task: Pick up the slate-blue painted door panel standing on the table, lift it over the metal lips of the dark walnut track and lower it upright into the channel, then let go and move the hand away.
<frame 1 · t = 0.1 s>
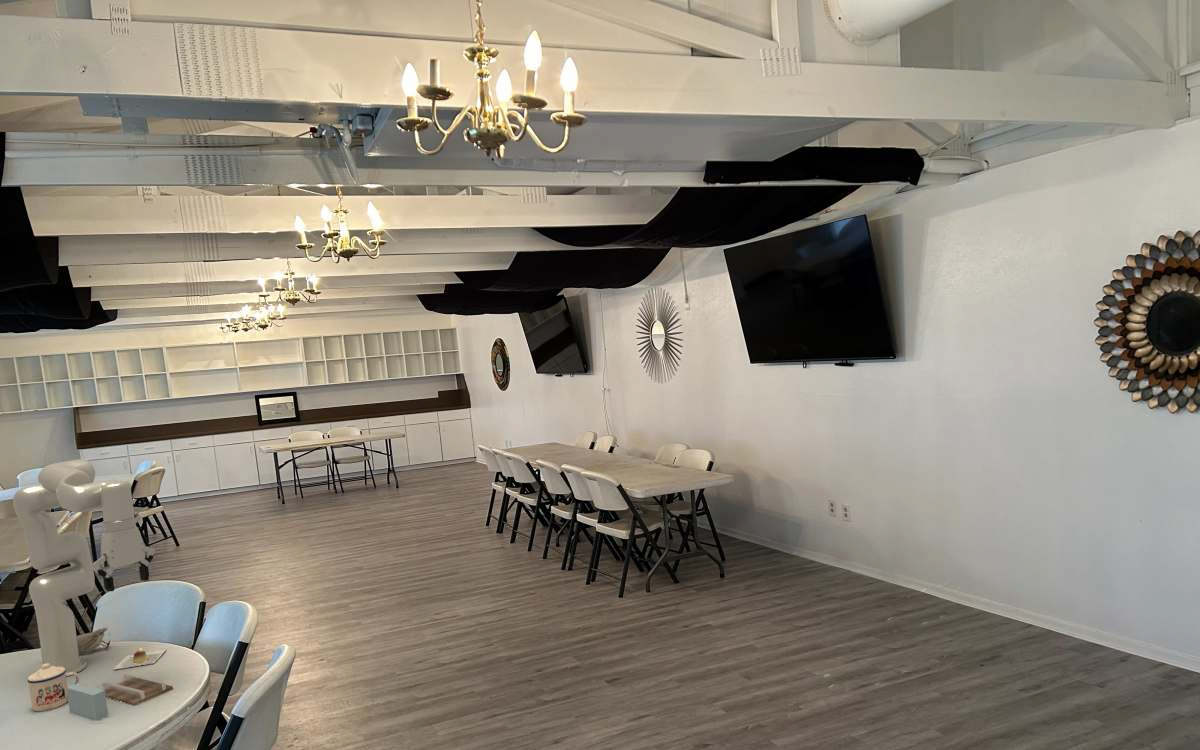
hand: (127, 585, 234), 31 cm above the table, tool pointing down, fingers open, 9 cm apart
teacup with lid: (57, 703, 235), on the table
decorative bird: (83, 654, 276), on the table
bottom track: (134, 692, 237), on the table
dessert: (140, 663, 263), on the table
door panel: (88, 714, 224), on the table
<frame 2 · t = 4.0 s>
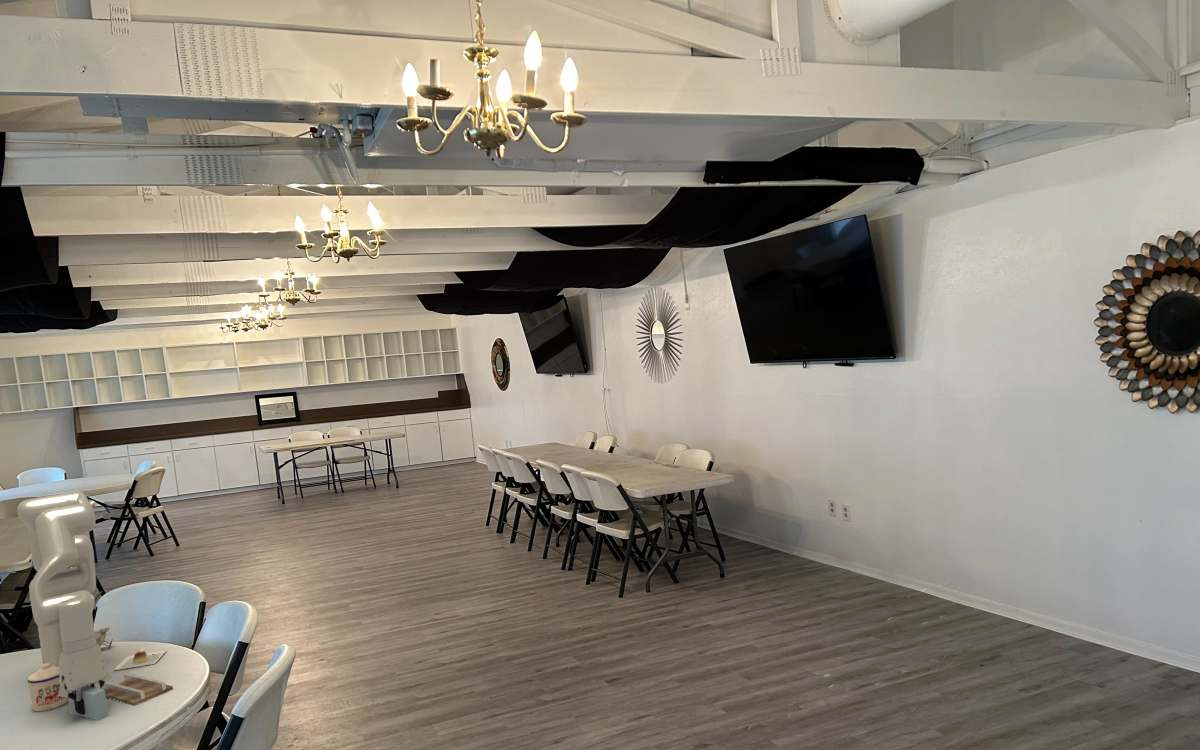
hand: (88, 710, 224), 1 cm above the table, tool pointing down, fingers closed on door panel, 3 cm apart
door panel: (88, 713, 224), on the table, touching gripper
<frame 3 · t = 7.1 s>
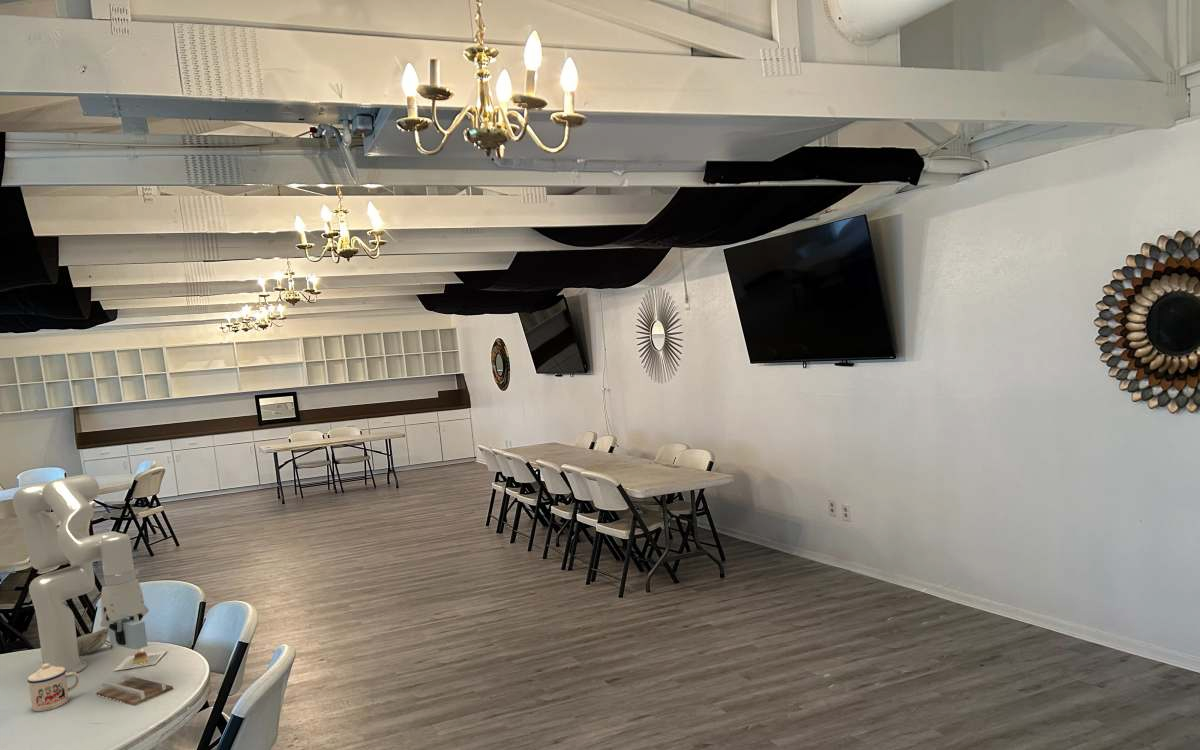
hand: (128, 641, 236), 15 cm above the table, tool pointing down, fingers closed on door panel, 3 cm apart
door panel: (128, 645, 236), point 14 cm above the table, touching gripper
when the fingers open (3 cm above the table, at t = 9.3 s): door panel drops 1 cm, resting on bottom track.
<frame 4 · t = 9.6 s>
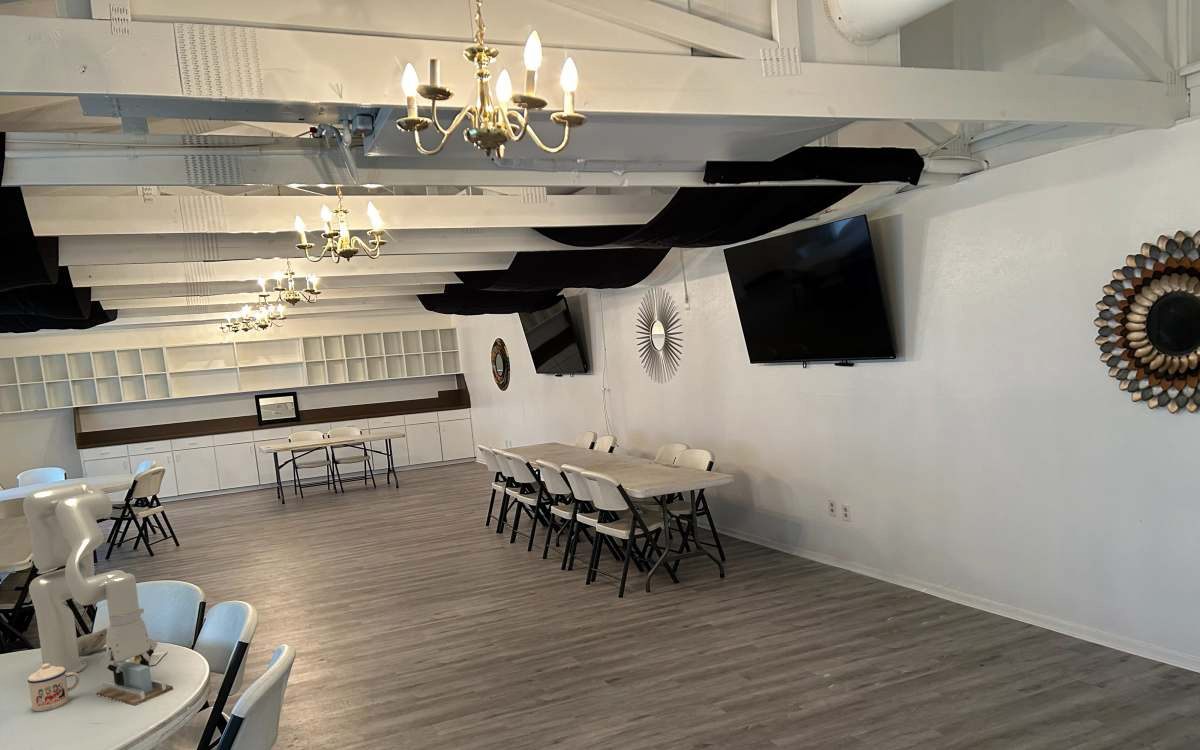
hand: (132, 679, 237), 4 cm above the table, tool pointing down, fingers open, 6 cm apart
door panel: (133, 689, 237), point 1 cm above the table, touching bottom track
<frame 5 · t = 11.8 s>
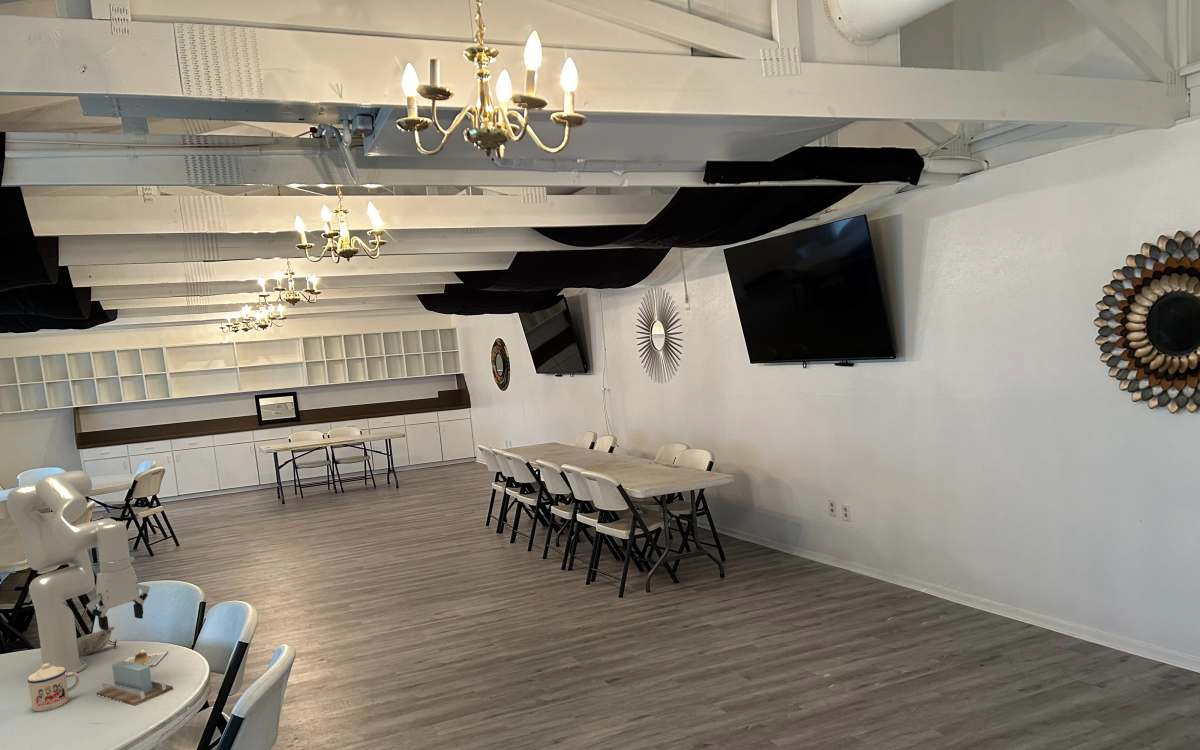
hand: (122, 623, 239), 19 cm above the table, tool pointing down, fingers open, 9 cm apart
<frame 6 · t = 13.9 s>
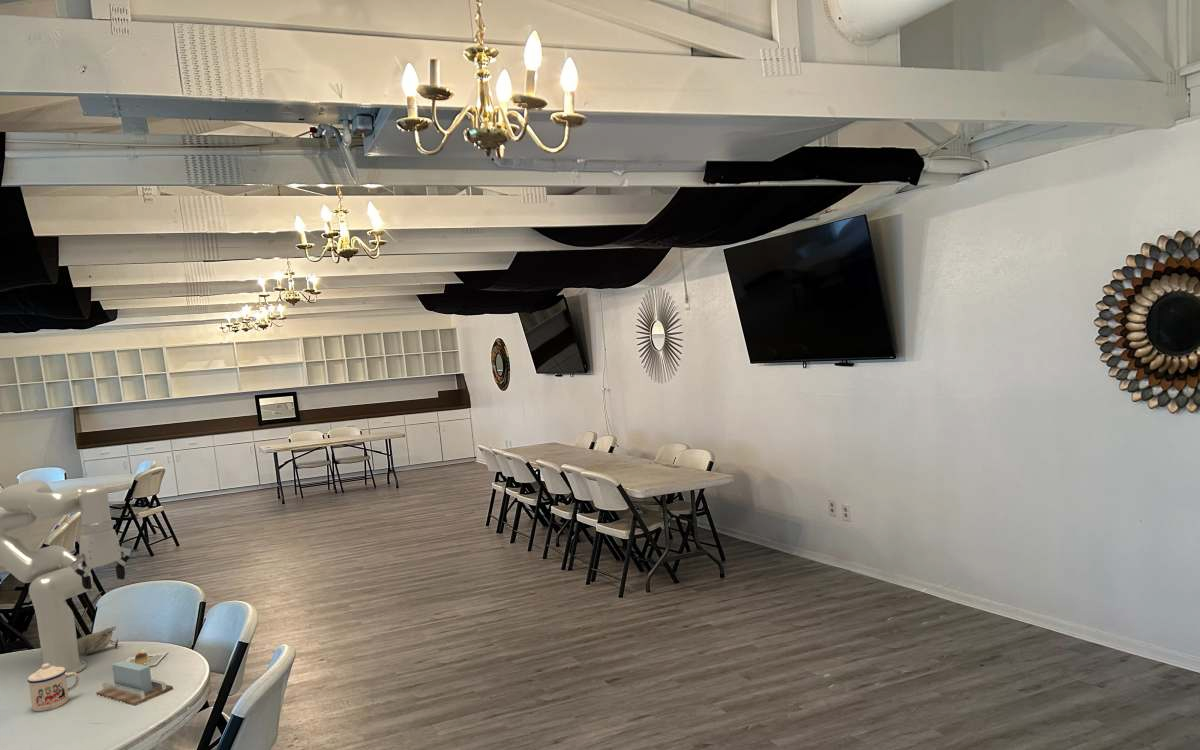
hand: (104, 583, 251), 28 cm above the table, tool pointing down, fingers open, 9 cm apart
at the end: door panel 0.1 cm off-centre on the bottom track, point 0.8 cm above the bottom track's base; door panel tilted 0°; the gripper is holding nothing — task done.
